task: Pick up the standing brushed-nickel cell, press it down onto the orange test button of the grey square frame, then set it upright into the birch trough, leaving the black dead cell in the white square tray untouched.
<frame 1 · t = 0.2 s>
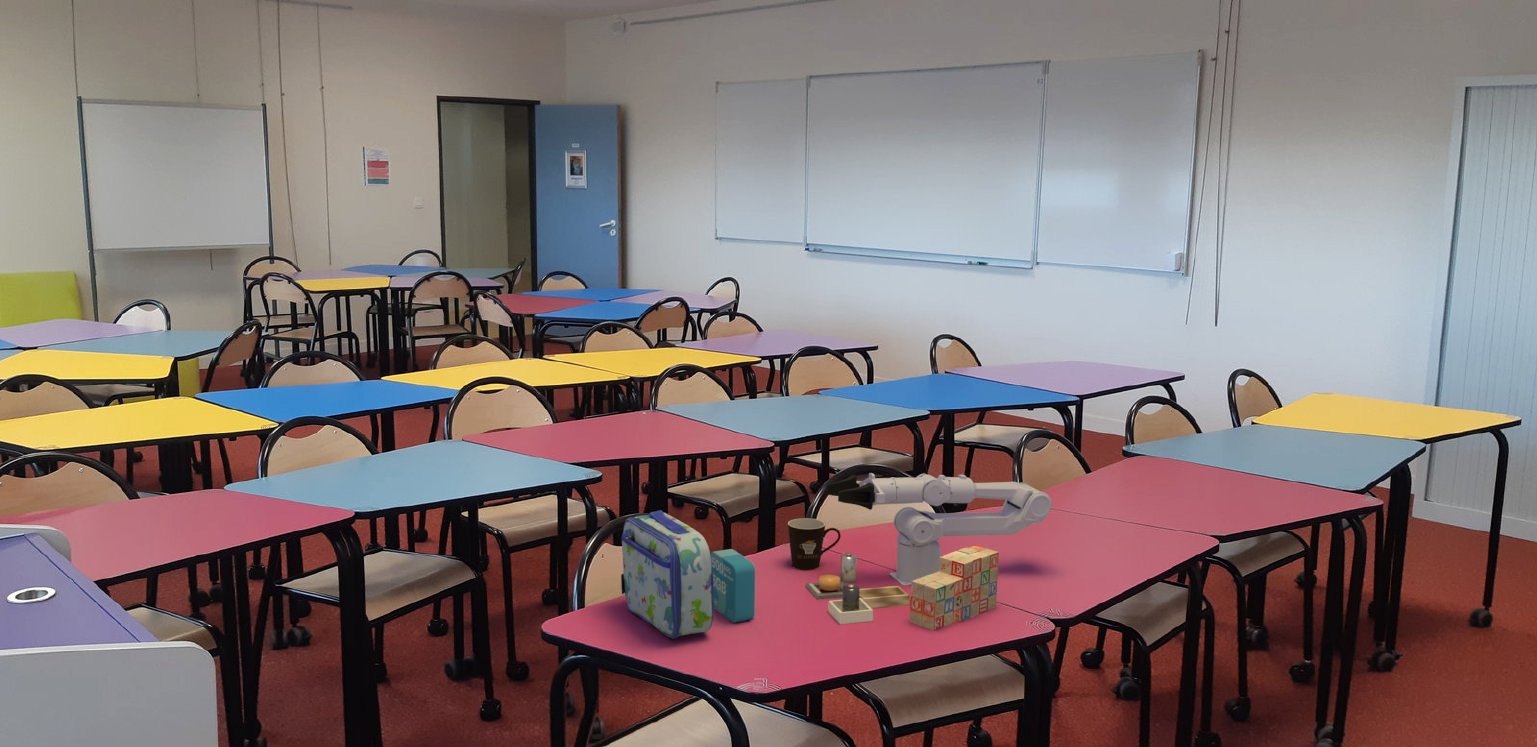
hand: (832, 492, 236), 21 cm above the table, tool horizontal, fingers open, 7 cm apart
trough: (880, 604, 229), on the table
data package: (732, 614, 223), on the table
white square tray: (850, 618, 221), on the table
stack of blocks: (953, 617, 224), on the table
lunch box: (665, 622, 218), on the table
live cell: (848, 581, 243), on the table
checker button: (829, 582, 235), point 2 cm above the table, slide at 0.0 cm
coffee mug: (811, 566, 253), on the table
grey square frame: (829, 593, 235), on the table
dead cell: (850, 616, 221), resting on white square tray
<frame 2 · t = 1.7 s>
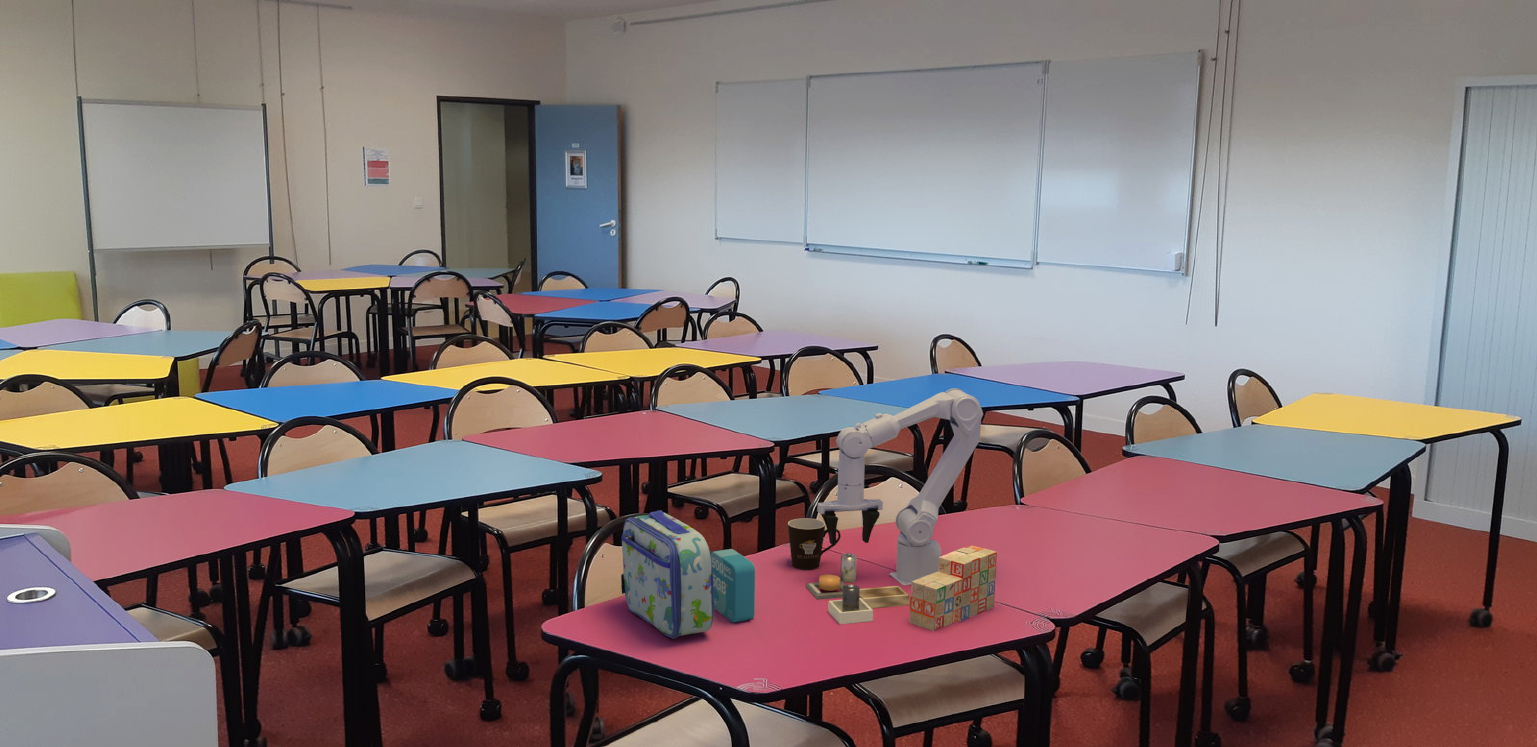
hand: (849, 542, 241), 9 cm above the table, tool pointing down, fingers open, 7 cm apart
nothing on the table moved.
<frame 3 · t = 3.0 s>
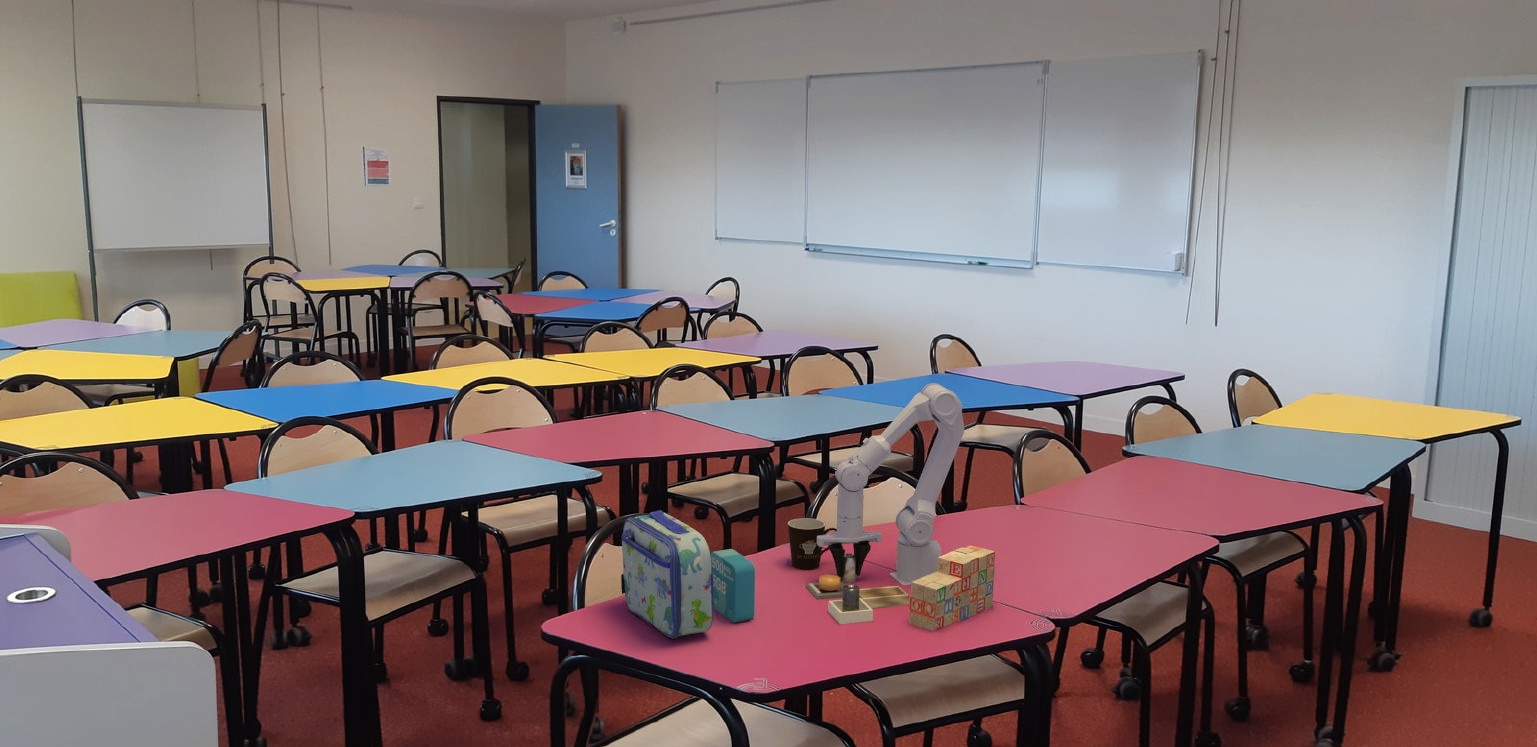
hand: (848, 574, 242), 2 cm above the table, tool pointing down, fingers closed on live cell, 3 cm apart
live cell: (848, 581, 243), on the table, touching gripper
everything else where it was.
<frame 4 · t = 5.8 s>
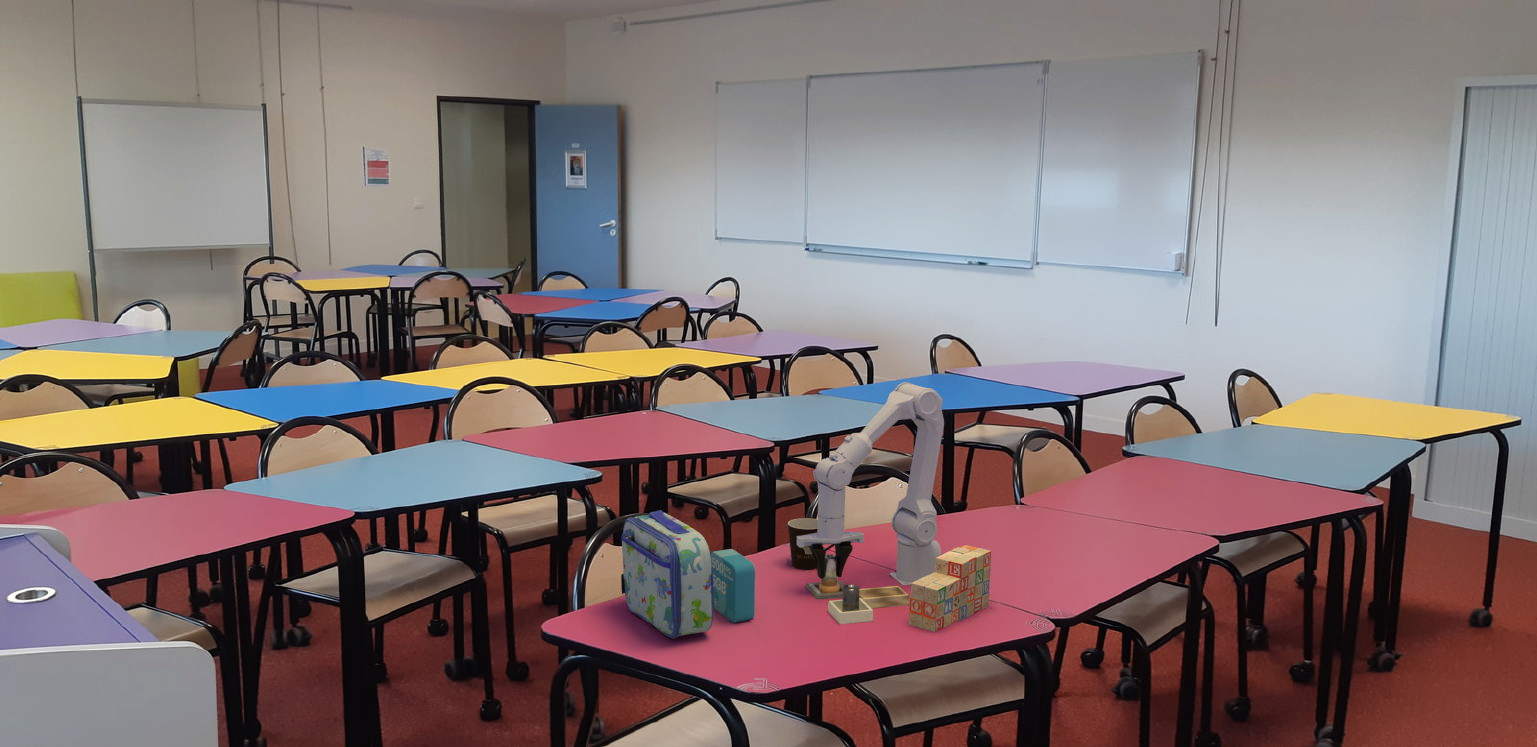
hand: (829, 576, 235), 4 cm above the table, tool pointing down, fingers closed on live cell, 3 cm apart
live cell: (829, 583, 235), point 2 cm above the table, touching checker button, gripper
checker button: (829, 588, 235), point 1 cm above the table, slide at 1.4 cm, touching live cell
everything else where it was.
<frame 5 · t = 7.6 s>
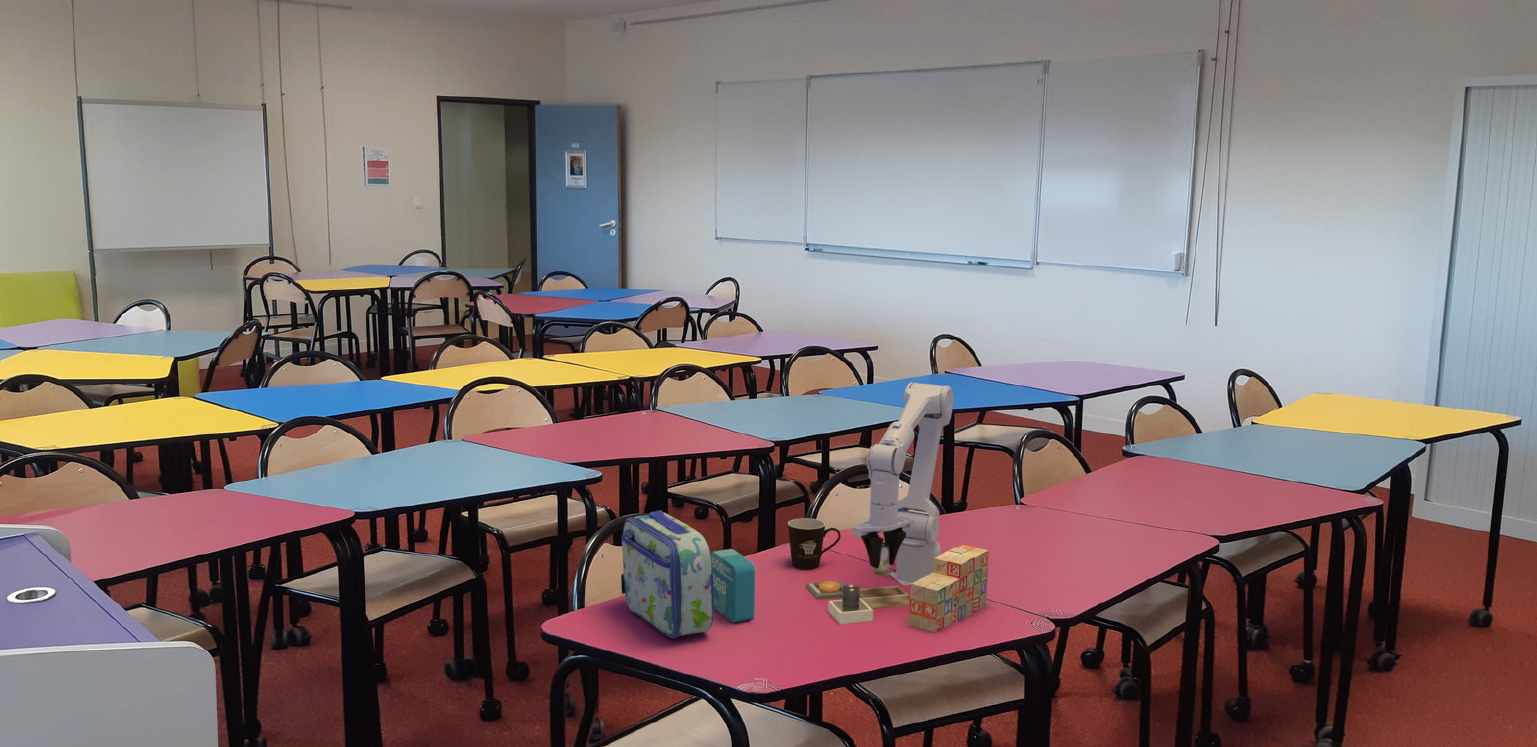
hand: (882, 565, 228), 9 cm above the table, tool pointing down, fingers closed on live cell, 3 cm apart
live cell: (880, 572, 229), point 7 cm above the table, touching gripper
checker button: (829, 588, 235), point 1 cm above the table, slide at 1.4 cm
when the fingers open (3 cm above the table, at t = 8.9 s): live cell stays where it is, resting on trough.
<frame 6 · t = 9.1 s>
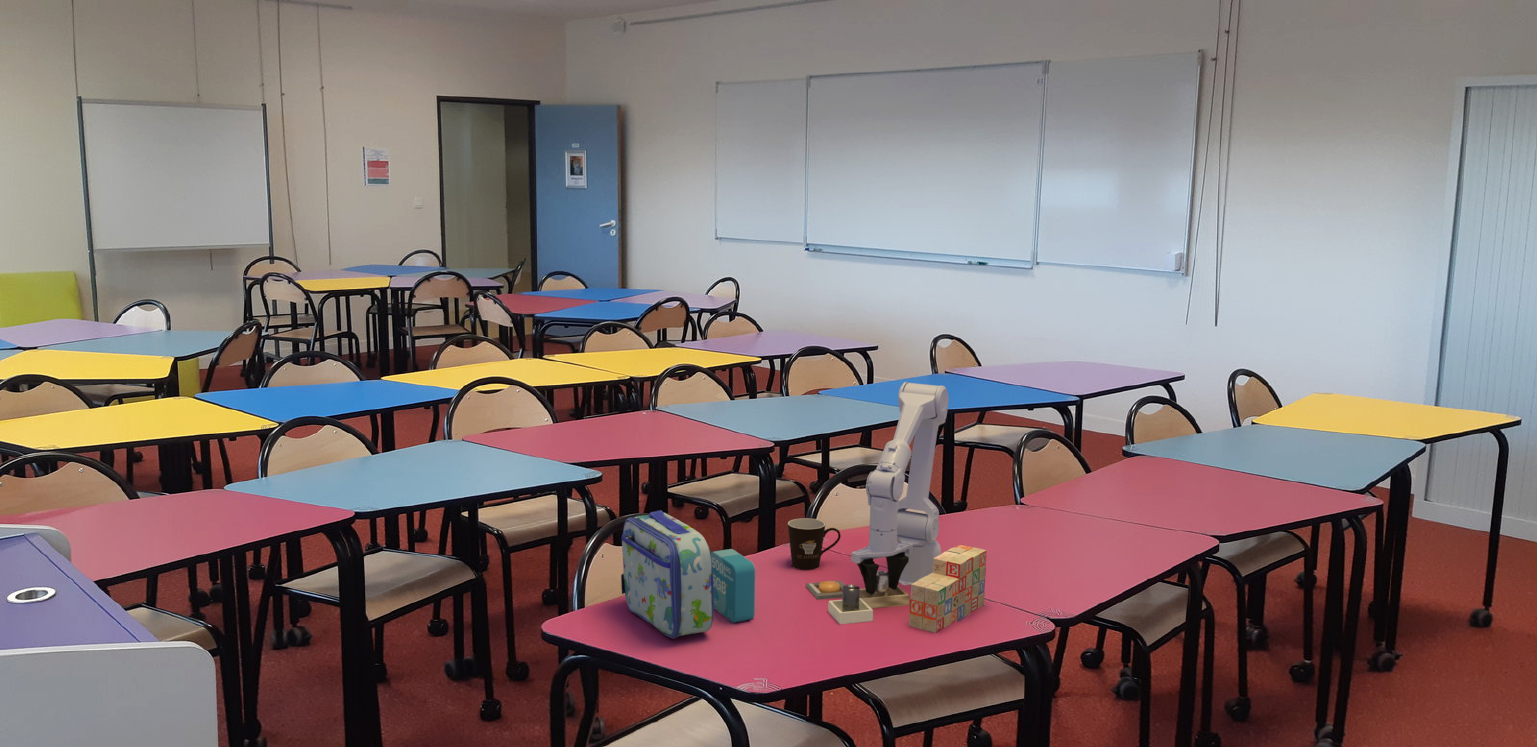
hand: (881, 590, 229), 3 cm above the table, tool pointing down, fingers open, 5 cm apart
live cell: (880, 600, 230), point 1 cm above the table, touching trough
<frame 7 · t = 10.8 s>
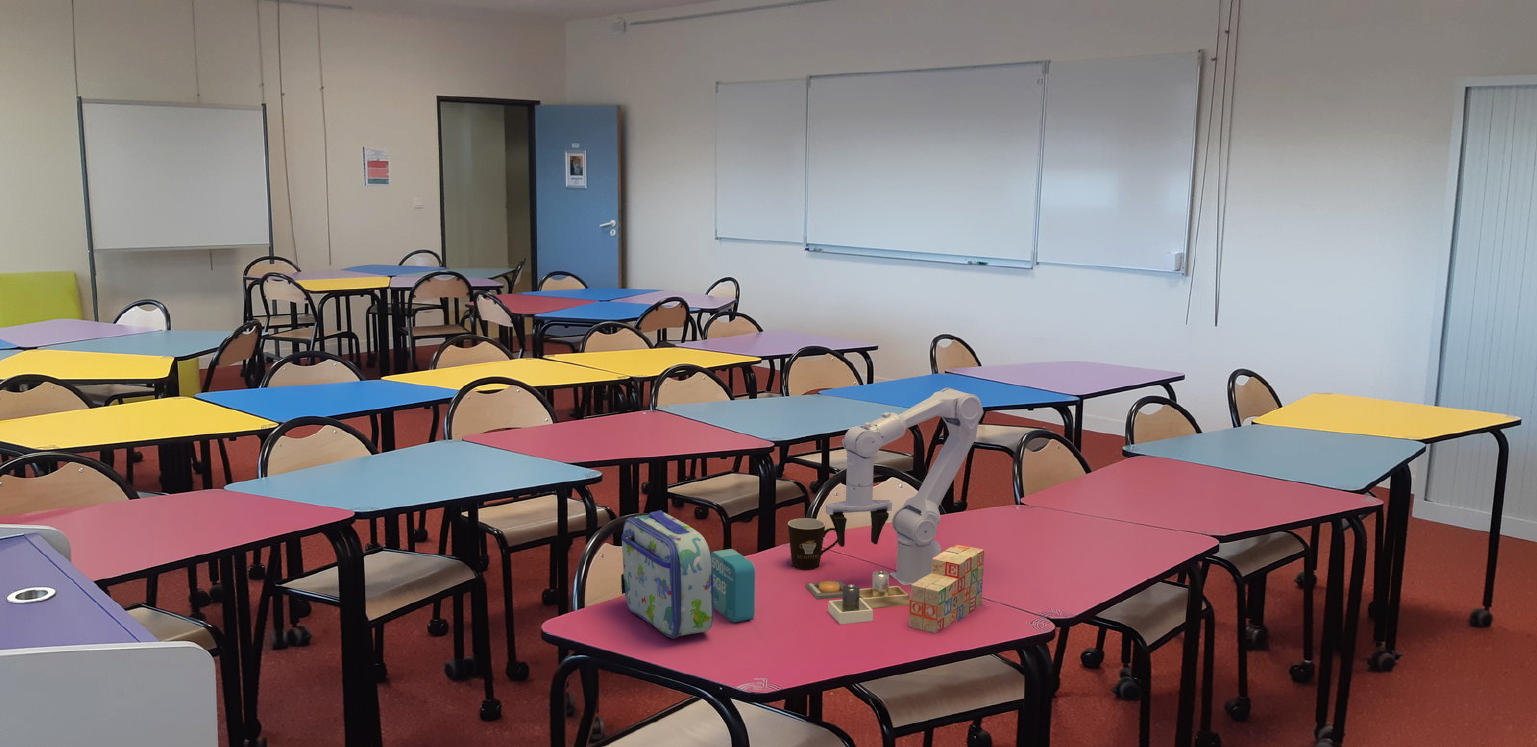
hand: (857, 544, 237), 10 cm above the table, tool pointing down, fingers open, 7 cm apart
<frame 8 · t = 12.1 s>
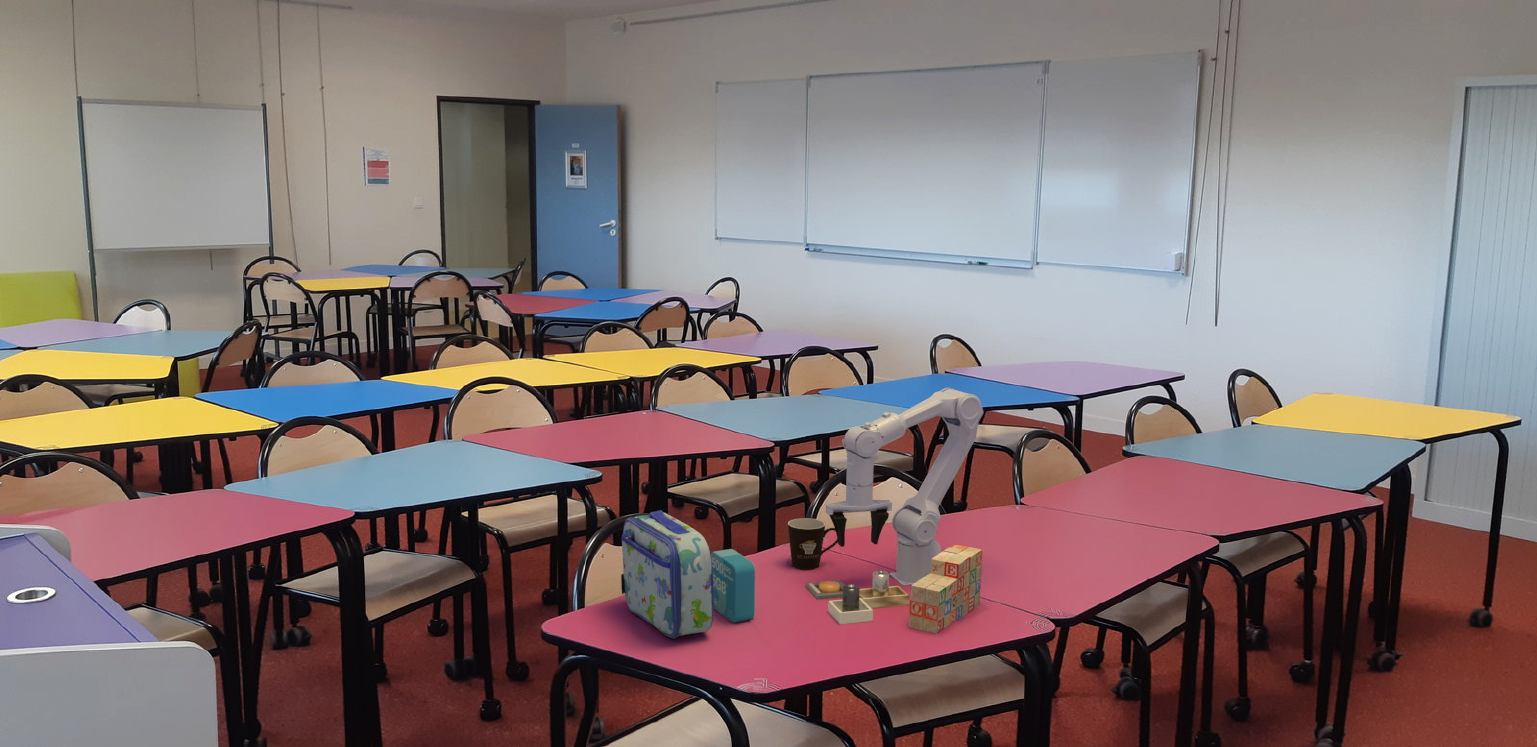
hand: (857, 544, 237), 10 cm above the table, tool pointing down, fingers open, 7 cm apart
at the end: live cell inside the target area on the trough (0.3 cm from its centre), point 0.6 cm above the trough's base; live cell tilted 0°; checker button slide at 1.4 cm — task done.
